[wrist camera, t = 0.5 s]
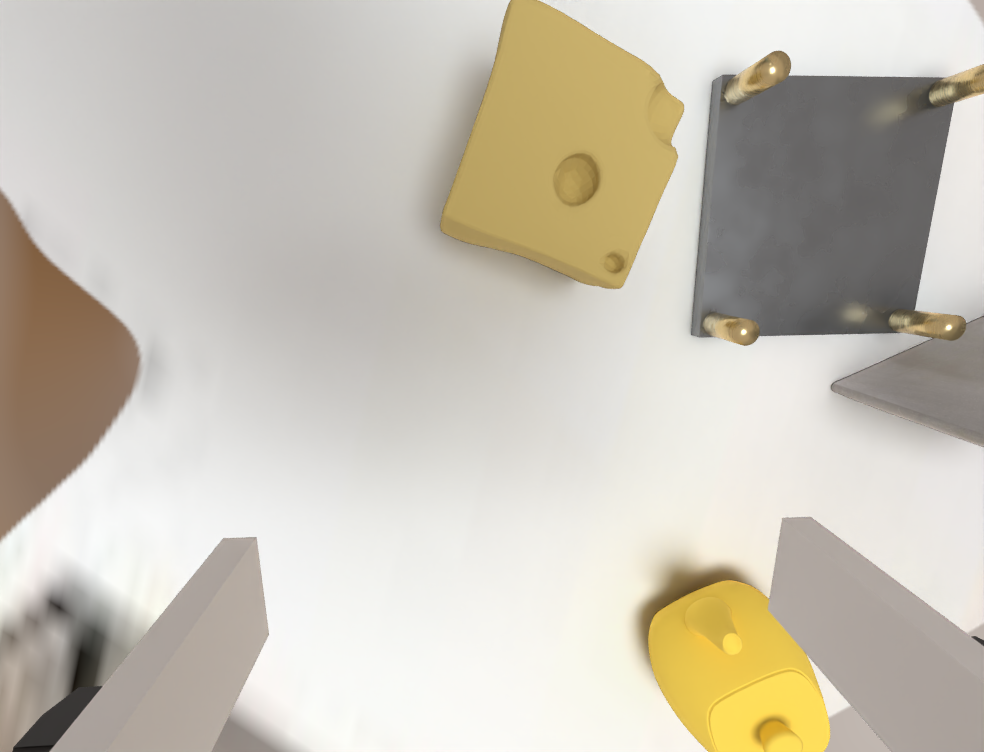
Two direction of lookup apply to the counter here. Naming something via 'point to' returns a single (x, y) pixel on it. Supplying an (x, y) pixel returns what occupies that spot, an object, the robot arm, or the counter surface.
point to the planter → (929, 385)
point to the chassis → (821, 202)
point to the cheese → (564, 150)
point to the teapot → (736, 673)
